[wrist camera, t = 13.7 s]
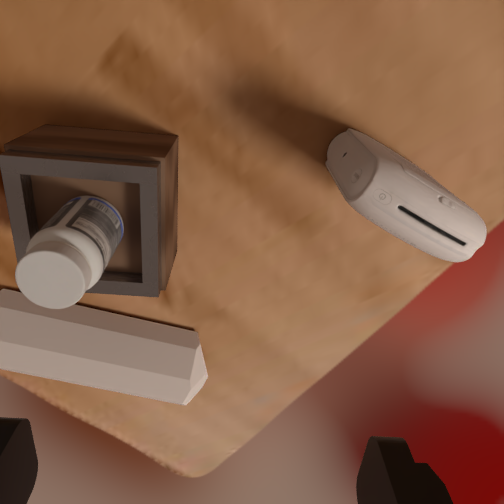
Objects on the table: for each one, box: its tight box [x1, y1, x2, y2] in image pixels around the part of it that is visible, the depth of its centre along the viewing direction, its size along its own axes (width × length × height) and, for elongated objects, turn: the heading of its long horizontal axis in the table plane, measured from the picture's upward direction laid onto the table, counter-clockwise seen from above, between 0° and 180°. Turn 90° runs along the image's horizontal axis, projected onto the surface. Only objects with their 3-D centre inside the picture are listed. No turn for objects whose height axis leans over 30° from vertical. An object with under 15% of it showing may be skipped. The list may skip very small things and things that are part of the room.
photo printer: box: [325, 128, 487, 262], centre depth 33 cm, size 10×4×12 cm, turn 60°
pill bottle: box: [15, 196, 124, 309], centre depth 29 cm, size 5×5×8 cm
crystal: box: [0, 288, 208, 405], centre depth 44 cm, size 7×7×24 cm
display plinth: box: [0, 125, 178, 297], centre depth 35 cm, size 11×11×8 cm
